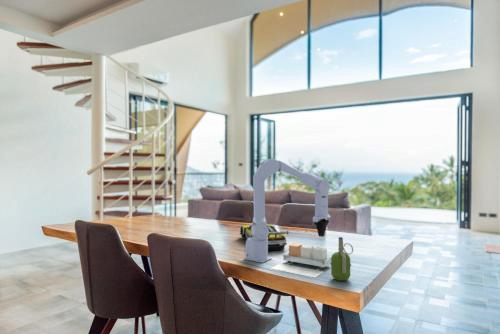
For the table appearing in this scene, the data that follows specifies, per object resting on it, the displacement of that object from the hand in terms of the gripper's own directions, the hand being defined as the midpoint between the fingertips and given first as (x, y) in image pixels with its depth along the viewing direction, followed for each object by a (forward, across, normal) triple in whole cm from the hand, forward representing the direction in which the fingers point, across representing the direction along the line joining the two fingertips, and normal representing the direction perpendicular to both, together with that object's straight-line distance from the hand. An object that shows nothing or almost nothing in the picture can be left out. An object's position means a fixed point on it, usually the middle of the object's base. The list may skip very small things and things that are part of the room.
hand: (321, 236), depth 145 cm
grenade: (+10, -25, -18) cm, 32 cm away
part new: (+7, -15, +5) cm, 17 cm away
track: (+9, -20, 0) cm, 22 cm away
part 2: (+7, -15, -6) cm, 18 cm away
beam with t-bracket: (+9, -12, 0) cm, 15 cm away
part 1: (+7, -15, 0) cm, 17 cm away
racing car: (+10, +7, +37) cm, 39 cm away
